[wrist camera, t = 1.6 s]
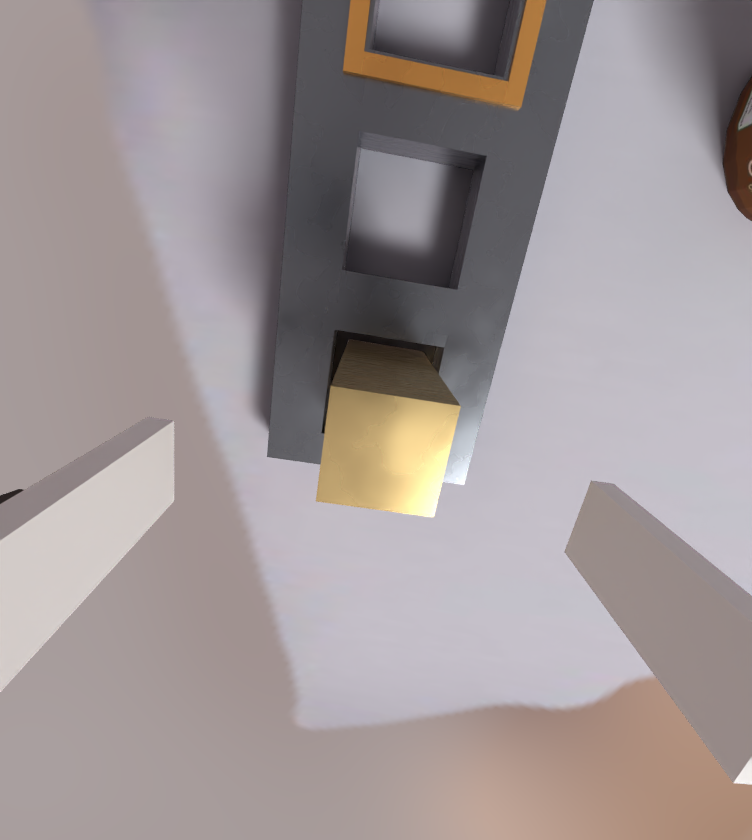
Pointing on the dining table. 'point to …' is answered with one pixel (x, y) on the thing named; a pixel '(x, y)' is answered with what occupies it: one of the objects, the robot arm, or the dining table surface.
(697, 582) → the robot arm
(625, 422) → the dining table surface
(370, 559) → the dining table surface
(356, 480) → the brass post
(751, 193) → the food container
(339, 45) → the grey slotted tray
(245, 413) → the dining table surface
